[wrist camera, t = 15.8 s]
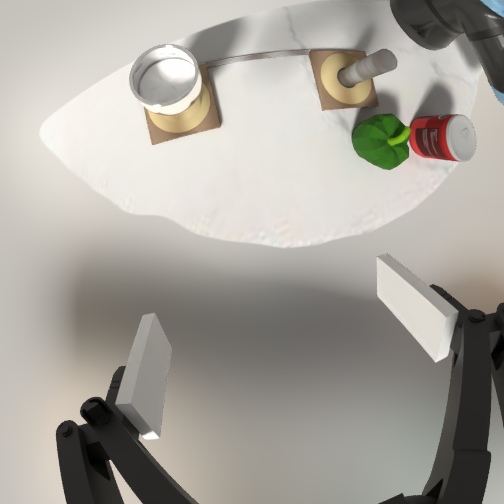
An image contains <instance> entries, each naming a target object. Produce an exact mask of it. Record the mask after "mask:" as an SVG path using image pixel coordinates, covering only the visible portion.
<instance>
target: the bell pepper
mask: <svg viewBox="0 0 504 504" xmlns="http://www.w3.org/2000/svg"><path fill="white" fill-rule="evenodd" d="M410 131H411V129H410V128H409V127H408V126H405V125H404V124H403V123H402V122H401V121H400V120H399V119H398V118H397V117H396V116H394V115H393V114H380V115H375V116H373V117H371V118H370V119H368V120H365V121H363V122H362V123H361V124H360V125H359V126H358V127H357V128H356V129H355V130H354V132H353V136H352V143H353V147H354V150H355V151H356V152H357V154H358V155H359V156H360V157H362V158H364V159H365V160H367V161H368V162H370V163H372V164H374V165H376V166H378V167H380V168H382V169H387V170H391V169H393V168H395V167H397V166H398V165H400V164H401V163H402V162H403V161H404V160H406V159H407V158H408V157H409V147H408V145H407V142H408V140H409V134H410Z"/></svg>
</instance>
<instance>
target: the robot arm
mask: <svg viewBox="0 0 504 504" xmlns="http://www.w3.org/2000/svg"><path fill="white" fill-rule="evenodd" d="M390 3H391V9H392V12H393V15H394V17H395V19H396V21H397V22H398V24H399V25H400V27H401V28H402V29H403V31H404V32H405V33H406V34H407V35H408V36H409V37H410V38H411V39H412V40H413V41H415V42H416V43H417V44H419V45H420V46H422V47H424V48H426V49H429V50H439V49H442V48H445V47H447V46H448V45H449V44H450V43H451V42H452V41H453V40H454V39H455V38H456V37H457V36H458V35H459V34H462V33H465V34H466V35H467V37H468V39H469V41H470V43H471V45H472V47H473V49H474V50H475V52H476V54H477V56H478V59H479V61H480V63H481V65H482V67H483V69H484V71H485V74H486V76H487V78H488V82H489V84H490V86H491V87H492V89H493V91H494V93H495V96H496V98H497V99H498V100H499V101H500V102H501V103H502V104H503V105H504V0H390ZM377 296H378V297H379V298H380V299H381V300H382V301H383V303H384V304H385V305H386V306H387V307H388V308H389V309H390V310H391V311H392V312H393V313H394V314H395V316H396V317H397V318H398V319H399V320H400V321H401V323H402V324H403V325H404V326H405V327H406V328H407V329H408V330H409V331H410V333H411V334H412V335H413V336H414V337H415V339H416V340H417V341H418V342H419V343H420V344H421V346H422V347H423V348H424V349H425V350H426V351H427V353H428V354H429V355H430V356H431V357H432V358H433V360H434V361H435V362H438V361H440V360H441V359H443V358H445V357H447V355H448V352H449V349H450V348H451V349H452V350H453V351H454V354H453V357H452V360H451V363H450V366H449V367H452V370H451V379H450V388H449V394H448V401H447V407H446V413H445V418H444V424H443V429H442V433H441V438H440V442H439V446H438V450H437V454H436V458H435V461H434V465H433V469H432V472H431V475H430V477H429V480H428V482H427V484H426V485H425V487H424V490H423V492H422V495H413V496H407V497H404V495H403V494H402V493H401V494H399V495H397V496H395V497H393V498H391V499H388V500H386V501H384V502H381V503H379V504H482V501H483V497H484V493H485V489H486V484H487V479H488V474H489V469H490V463H491V453H490V452H489V451H487V443H488V436H489V426H490V413H491V373H492V377H493V381H494V384H495V388H496V392H497V396H498V401H499V405H500V410H501V415H502V420H503V426H504V303H500V304H499V306H498V308H497V311H496V313H492V314H487V315H486V314H485V313H484V312H482V311H480V310H476V309H471V310H468V309H467V308H465V307H464V306H463V305H462V304H461V303H459V302H458V301H457V300H456V299H455V298H454V297H453V298H452V296H451V295H450V294H448V293H447V292H446V291H445V290H443V288H441V287H439V286H436V285H434V284H432V285H430V286H428V285H427V284H426V283H425V282H423V281H422V280H421V279H420V278H418V277H417V276H416V275H415V274H413V273H412V272H411V271H410V270H408V269H407V268H406V267H405V266H403V265H402V264H401V263H399V262H398V261H397V260H396V259H394V258H393V257H392V256H390V255H389V254H388V253H387V254H384V255H380V256H377ZM171 351H172V348H171V346H170V344H169V342H168V340H167V338H166V336H165V334H164V332H163V329H162V327H161V325H160V323H159V321H158V318H157V316H156V314H155V313H151V314H146V315H143V317H142V319H141V322H140V325H139V328H138V331H137V334H136V337H135V340H134V343H133V346H132V349H131V352H130V355H129V359H128V362H127V365H126V366H121V367H119V368H118V369H117V370H116V372H115V373H114V375H113V378H112V381H111V382H112V383H111V384H110V389H109V390H108V393H107V397H106V400H105V401H104V400H103V399H102V398H100V397H92V398H90V399H88V400H87V401H86V402H84V403H83V405H82V406H81V410H80V414H81V416H82V417H83V418H84V419H85V420H86V421H87V424H83V425H80V426H78V425H77V424H76V423H75V422H73V421H71V420H68V421H64V422H63V423H61V424H60V425H59V426H58V428H57V430H56V441H57V451H58V458H59V466H60V472H61V478H62V484H63V489H64V494H65V498H66V502H67V504H124V502H123V499H122V497H121V494H120V491H119V489H118V486H117V483H116V480H115V478H114V474H113V471H112V468H111V465H110V462H109V460H112V462H113V464H114V465H115V466H116V468H117V470H118V471H119V472H120V474H121V475H122V477H123V478H124V479H125V481H126V482H127V484H128V485H129V486H130V487H131V489H132V491H133V492H134V493H135V494H136V496H137V497H138V498H139V500H140V501H141V502H142V503H143V504H199V503H197V502H196V501H195V500H194V499H193V498H192V497H191V496H190V495H189V494H188V493H187V492H186V491H185V490H184V489H183V488H182V487H181V486H180V485H179V484H177V482H176V481H175V480H174V479H173V478H172V477H171V476H170V475H169V474H168V473H167V472H166V471H165V470H164V469H163V467H161V465H160V464H159V463H158V462H157V461H156V460H155V458H154V457H153V456H152V455H151V454H150V453H149V452H148V450H147V449H146V448H145V447H144V446H143V444H142V443H141V442H140V441H139V440H138V439H139V433H140V434H141V435H142V436H143V437H144V438H145V439H159V438H160V433H161V424H162V416H163V407H164V399H165V392H166V384H167V377H168V370H169V363H170V357H171Z"/></svg>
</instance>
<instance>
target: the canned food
mask: <svg viewBox="0 0 504 504" xmlns="http://www.w3.org/2000/svg"><path fill="white" fill-rule="evenodd" d="M410 129H411V131H410V134H409V142H410V145H411V147H412V149H413V150H414V151H415V153H417V154H418V155H420V156H422V157H425V158H434V159H443V160H451V161H459V162H466V161H468V160H470V159H471V158H472V156H473V155H474V152H475V149H476V134H475V130H474V127H473V125H472V123H471V122H470V120H469V119H468V118H467V117H466V116H464V115H458V114H456V115H438V116H426V117H419V118H417V119H416V120H414V121H413V122H412V124H411V126H410Z"/></svg>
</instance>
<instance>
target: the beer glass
mask: <svg viewBox="0 0 504 504" xmlns="http://www.w3.org/2000/svg"><path fill="white" fill-rule="evenodd" d="M129 82H130V88H131V90H132V92H133V94H134V95H135V97H136V98H137V99H138V100H139V102H140V103H141V104H142V105H143V106H144V107H145V108H146V109H148V110H149V111H151V112H152V113H154V114H157V115H160V116H162V117H163V118H164V119H166V120H168V121H170V122H174V123H180V122H185V121H187V120H189V119H191V118H192V117H193V116H194V115H195V114H196V113H197V111H198V109H199V107H200V93H201V89H202V77H201V72H200V69H199V66H198V63H197V60H196V58H195V57H194V55H193V54H192V53H191V52H190V51H189V50H187V49H186V48H184V47H182V46H179V45H174V44H164V45H158V46H155V47H153V48H151V49H149V50H147V51H146V52H144V53H143V54H142V55H141V56H140V57H139V58H138V59H137V60H136V61H135V63H134V65H133V67H132V69H131V72H130V77H129Z"/></svg>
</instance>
